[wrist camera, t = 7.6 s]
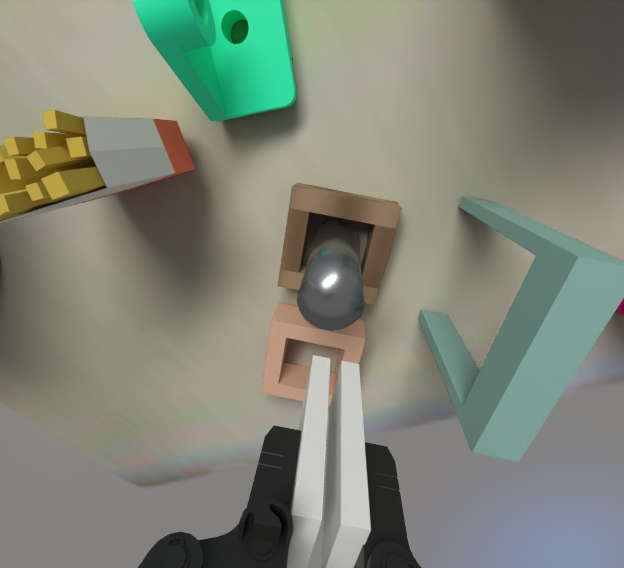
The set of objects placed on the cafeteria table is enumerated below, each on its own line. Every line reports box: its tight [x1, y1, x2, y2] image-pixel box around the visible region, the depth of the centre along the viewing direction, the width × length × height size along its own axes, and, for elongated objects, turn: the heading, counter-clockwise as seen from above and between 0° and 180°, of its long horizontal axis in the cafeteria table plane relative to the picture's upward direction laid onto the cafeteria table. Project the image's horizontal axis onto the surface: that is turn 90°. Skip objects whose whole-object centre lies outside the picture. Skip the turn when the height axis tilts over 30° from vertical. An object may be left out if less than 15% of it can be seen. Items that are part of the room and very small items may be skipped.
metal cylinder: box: [297, 220, 364, 331], centre depth 28 cm, size 4×4×14 cm
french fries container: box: [0, 110, 195, 223], centre depth 25 cm, size 5×11×18 cm, turn 106°
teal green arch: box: [419, 196, 624, 462], centre depth 26 cm, size 3×14×17 cm, turn 170°
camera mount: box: [133, 0, 297, 122], centre depth 24 cm, size 12×8×10 cm, turn 10°
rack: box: [261, 303, 366, 407], centre depth 38 cm, size 10×10×4 cm
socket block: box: [278, 183, 402, 305], centre depth 33 cm, size 10×10×3 cm
